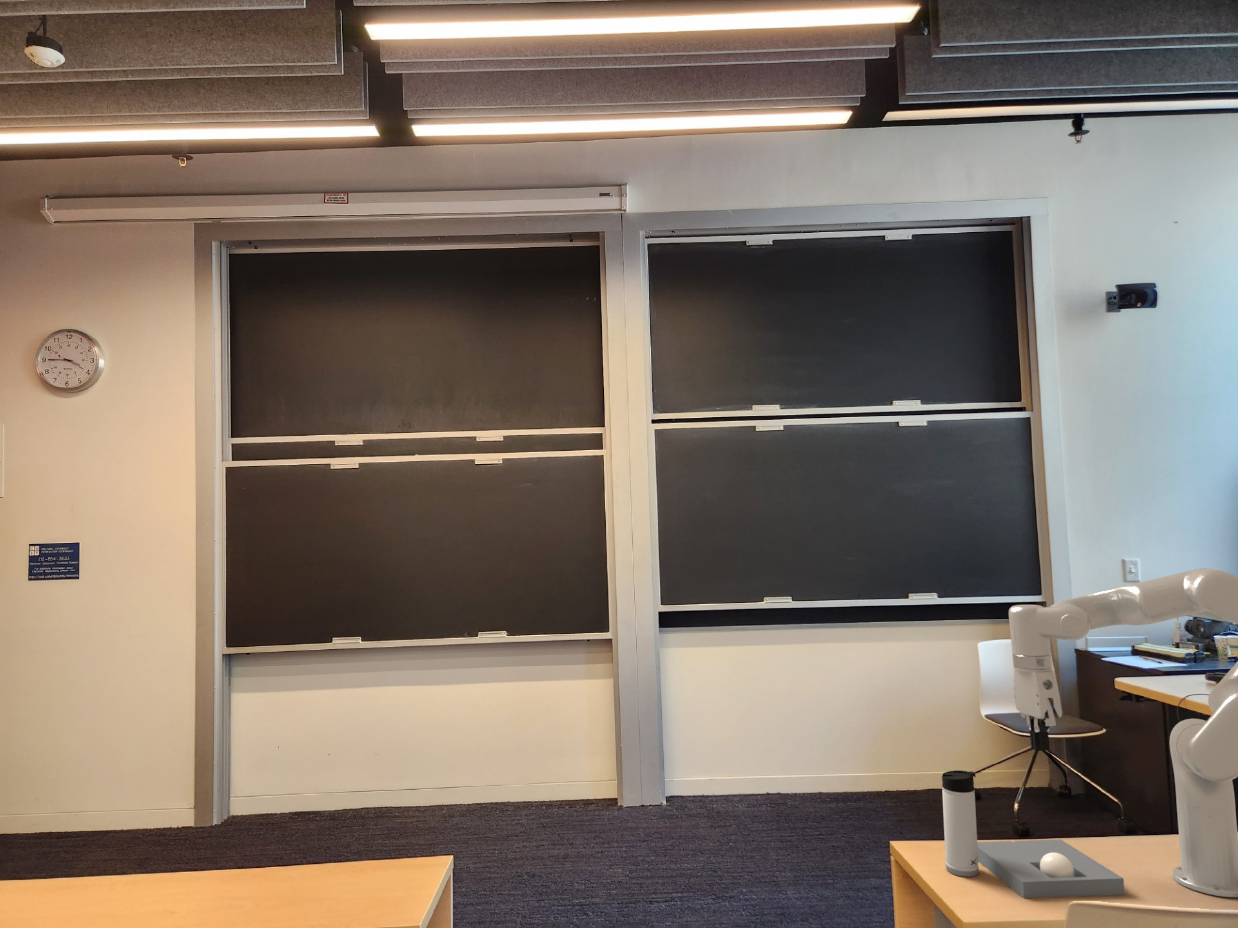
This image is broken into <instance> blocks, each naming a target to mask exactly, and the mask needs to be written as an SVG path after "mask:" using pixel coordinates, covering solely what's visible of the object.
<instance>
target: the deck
mask: <svg viewBox="0 0 1238 928" xmlns="http://www.w3.org/2000/svg"><path fill="white" fill-rule="evenodd" d="M1011 841H1012V840H1010V841H1009V840H1004V841H1002V840H1001V841H977V848H978V863H979V864H980V865H982V866H983V867H984V866H985V867H984V868H986V869H987V870H988V871H990V872H991V873H992V874H993V875H995V876H996V878H998V879H999V880H1001V881H1002V882H1003V883H1004V884H1005V885H1007V886H1008V888H1010V889H1012V890H1013V891H1014V892H1015V893H1017V894H1018V895H1019V896H1021V897H1022V898H1023V899H1037V898H1039V899H1041V898H1043V899H1044V898H1045V899H1046V898H1066V897H1068V898H1070V897H1092V896H1095V897H1097V896H1124V895H1125V882H1124V878H1123V877H1122V876H1120V875H1119V874H1117V873H1115V872H1113V870H1111V869H1109V868H1107V867H1106V866H1104V865H1103V864H1101V863H1099V862H1098V861H1096V860H1094V858H1091V857H1090V856H1088V855H1086V854H1085V853H1084V852H1082V851H1080V850H1078V849H1077V848H1076V847H1073V846H1072V845H1070V844H1069V843H1067V842H1066V841H1064V840H1062V839H1060V838H1059V839H1038V840H1037V839H1036V840H1035V839H1034V840H1032V839H1031V840H1030V839H1029V840H1014V841H1015V842H1011ZM1052 852H1053V853H1059V854H1062V855H1063V856H1065V857H1066V858H1067V859H1068V860H1069V861H1070V862H1071V864H1072V866H1073V868H1074V877H1065V878H1050V877H1049V876H1047V875H1046V874H1044V873H1043V872H1042V871H1041V870H1040V861H1041V859H1042V857H1043V856H1044V855H1046V854H1048V853H1052Z"/></svg>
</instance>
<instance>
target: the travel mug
mask: <svg viewBox="0 0 1238 928" xmlns="http://www.w3.org/2000/svg"><path fill="white" fill-rule="evenodd" d="M974 778H976V773H975V772H974V770H973V771H972V770H971V771H968V770H959V769H958V770H948V771H946V772H943V773H942V774H941V782H942V783H941V788H942V790H941V791H942V813H943V831H944V832H943V833H944V851H945V852H944V853H945V854H944V855H945V856H944V857H945V869H946V871H948V872H949V873H950V874H952V875H955V876H958V877H963V878H971V877H976V876H977V875H979V874H980V873H979V862H978V848H977V842H978V833H977V832H978V831H977V830H978V829H977V816H976V815H977V813H976V810H977V809H976V796H975V795H976V794H975V780H974Z"/></svg>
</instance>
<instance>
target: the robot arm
mask: <svg viewBox="0 0 1238 928" xmlns="http://www.w3.org/2000/svg"><path fill="white" fill-rule="evenodd" d="M1207 612H1209V613H1211V614H1213V615H1216V616H1218V617H1220V618H1222V619H1225V620H1227V621H1229V622H1230V623H1234V624H1235V625H1238V576H1237V575H1234V574H1231V573H1230V572H1227V571H1224V570H1220V569H1213V568H1207V567H1206V568H1196V569H1191V570H1187V571H1183V572H1182V571H1181V572H1178V573H1175V574H1171V575H1167V576H1162V577H1158V578H1154V579H1150V580H1145V581H1141V582H1137V583H1133V584H1128V585H1123V586H1119V587H1116V588H1112V589H1109V590H1103V591H1099V592H1095V593H1089V594H1085V595H1081V596H1077V597H1073V598H1069V599H1065V600H1061V601H1057V602H1055V603H1053V604H1051V605H1050V606H1047V607H1045V606H1042V605H1038V604H1016V605H1012V606H1011V607H1010V608H1009V609H1008V619H1009V620H1008V621H1009V631H1010V642H1011V644H1010V645H1011V652H1012V665H1013V671H1014V672H1013V692H1014V693H1013V696H1014V704H1015V708H1016V711H1018V712H1019V713H1020V717H1021V718H1023V719H1024V720H1025V721H1026V725H1027V729H1028V730H1029V738H1030V749H1032V750H1033V751H1036V752H1041V751H1043V752H1044V751H1045V752H1046V751H1050V739H1049V738H1050V737H1049V732H1050V729H1051V728H1050V727H1053V726H1057V723H1056V719H1060V718H1062V716H1063V711H1062V710H1063V709H1062V703H1061V696H1060V691H1059V685H1058V681H1057V678H1056V674H1055V672H1054V670H1053V661H1052V653H1051V652H1052V651H1051V640H1050V639H1054V640H1060V641H1068V642H1075V641H1079V640H1082V639H1083V638H1085V637H1086V636H1087V635H1088V634H1089V633H1090V631H1092V630H1095V629H1101V628H1105V627H1111V626H1112V627H1113V626H1123V625H1125V626H1126V625H1129V626H1130V625H1131V626H1132V625H1133V626H1145V625H1154V624H1156V623H1161V622H1165V621H1169V620H1170V621H1171V620H1173V619H1178V618H1182V617H1188V616H1192V615H1198V614H1200V613H1207ZM1207 701H1208V702H1207V703H1208V707H1209V709H1210V711H1211V712H1212V714H1211V715H1210V716H1209V718H1207V720H1204V719H1200V718H1189V719H1188V718H1186V719H1184V720H1181V721H1179V722H1177V724H1175V726H1174V727H1173V728H1172V730H1171V732H1170V736H1169V751H1170V757H1171V761H1172V763H1171V764H1172V769H1173V774H1174V775H1173V776H1174V785H1175V797H1176V812H1177V828H1178V839H1179V850H1180V852H1179V853H1180V863H1181V864H1180V865H1179V866H1176V867H1173V869H1172V877H1173V879H1174V880H1175V881H1176V882H1177V883H1178V884H1180V885H1182V886H1183V887H1186V888H1189V889H1191V890H1193V891H1196V892H1199V893H1202V894H1203V893H1204V894H1207V895H1211V896H1216V897H1223V898H1238V825H1237V814H1236V798H1235V791H1234V783H1233V780H1234V779H1237V778H1238V660H1237V661H1236V663H1235V664H1234V665H1233V666H1232V667H1231V668H1230V669H1229V670H1228V672H1226V674H1225V675H1224V676H1223V678H1221V680H1220V681H1219V682H1218V683H1217V684H1216V685H1215V686H1214V687H1213V688H1212V690H1211V691H1210V693H1209V695H1208V699H1207Z"/></svg>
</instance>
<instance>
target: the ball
mask: <svg viewBox="0 0 1238 928" xmlns="http://www.w3.org/2000/svg"><path fill="white" fill-rule="evenodd" d="M1040 870H1041V871H1042V872H1043V873H1044V874H1046V875H1047V876H1049V877H1050V878H1065V877H1074V868H1073V866H1072V864H1071V862H1070V861H1069V860H1068V859H1067V858H1066V857H1065V856H1063V855H1062V854H1059V853H1053V852H1052V853H1048V854H1046V855H1044V856H1043V857H1042V859H1041V861H1040Z"/></svg>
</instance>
